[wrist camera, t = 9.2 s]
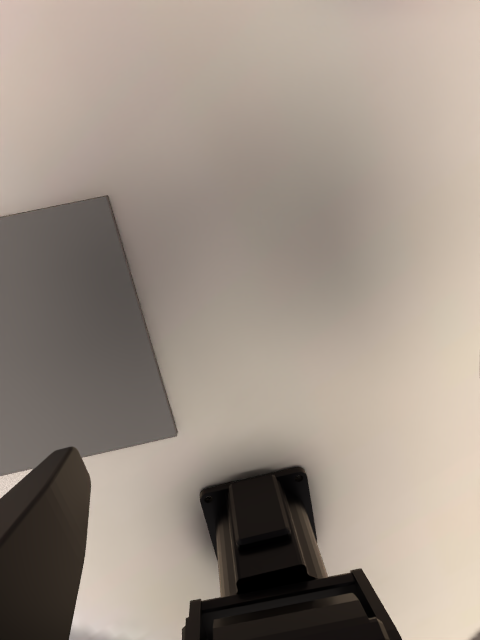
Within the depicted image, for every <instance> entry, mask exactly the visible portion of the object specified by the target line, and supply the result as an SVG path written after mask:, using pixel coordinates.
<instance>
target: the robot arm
mask: <svg viewBox="0 0 480 640" xmlns="http://www.w3.org/2000/svg"><path fill="white" fill-rule="evenodd" d="M298 475H300V476H299V477H296V476H298ZM90 492H91V480H90V476H89V473H88V471H87V469H86V467H85V465H84V462H83V460H82V458H81V456H80V453H79V451H78V450H77V449H76V448H75V447H73V446H71V447H66V448H62V449H58V450H55V451H54V452H52V453H51V454H50V455H49V456H48V457H47V458H46V459H44V460H43V461H42V462H41V463H40V464H39V465H38V466H37V467H36V468H34V469H33V470H32V471H31V472H30V473H29V474H28V475H27V476H25V477H24V478H23V479H22V480H21V481H20V482H19V483H18V484H16V485H15V486H14V487H13V488H12V489H11V490H10V491H9V492H7V493H6V494H5V495H4V496H3V497H2V498H1V499H0V640H69V635H70V630H71V625H72V620H73V615H74V610H75V605H76V600H77V594H78V589H79V584H80V579H81V574H82V569H83V563H84V557H85V550H86V540H87V528H88V516H89V504H90ZM207 496H211V497H210V498H206V497H207ZM200 502H201V506H202V509H203V512H204V516H205V519H206V523H207V526H208V530H209V533H210V536H211V540H212V543H213V547H214V550H215V554H216V557H217V560H218V567H219V580H220V593H221V597H220V598H214V599H209V600H204V601H201V599H198V600H193V601H190V610H189V617H188V618H186V625H185V627H184V628H183V629H182V640H402V638H401V636H400V634H399V632H398V631H397V629H396V627H395V625H394V623H393V622H392V620H391V618H390V617H389V615H388V613H387V612H386V610H385V608H384V606H383V605H382V603H381V601H380V600H379V598H378V596H377V594H376V593H375V591H374V589H373V588H372V586H371V584H370V582H369V581H368V579H367V577H366V576H365V574H364V572H363V570H362V569H355V570H351V571H350V573H345V574H340V575H335V576H330V577H328V576H327V573H326V569H325V566H324V563H323V560H322V557H321V554H320V551H319V548H318V545H317V537H316V531H315V524H314V518H313V511H312V505H311V499H310V492H309V486H308V479H307V475H306V472H305V470H304V469H303V468H300V467H296V468H292V469H287V470H283V471H279V472H274V473H270V474H266V475H261V476H257V477H253V478H249V479H244V480H240V481H236V482H231V483H227V484H223V485H218V486H214V487H210V488H206V489H203V490H202V491H201V493H200Z"/></svg>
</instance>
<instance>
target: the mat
mask: <svg viewBox="0 0 480 640" xmlns="http://www.w3.org/2000/svg"><path fill="white" fill-rule="evenodd" d="M175 436H177V429H176V426H175V422H174V419H173V415H172V412H171V409H170V405H169V402H168V398H167V395H166V392H165V388H164V385H163V382H162V378H161V375H160V371H159V368H158V365H157V361H156V358H155V354H154V351H153V348H152V344H151V341H150V337H149V334H148V331H147V327H146V324H145V321H144V317H143V314H142V310H141V307H140V304H139V300H138V297H137V293H136V290H135V287H134V283H133V280H132V276H131V273H130V270H129V266H128V263H127V260H126V256H125V253H124V249H123V246H122V243H121V239H120V236H119V232H118V229H117V226H116V222H115V219H114V215H113V212H112V209H111V205H110V202H109V199H108V196H103V197H98V198H93V199H88V200H83V201H78V202H73V203H68V204H63V205H58V206H53V207H48V208H43V209H38V210H33V211H28V212H23V213H18V214H14V215H9V216H4V217H0V476H3V475H7V474H12V473H16V472H20V471H25V470H29V469H34V468H36V467H37V466H38V465H39V464H40V463H41V462H42V461H43V460H44V459H46V458H47V457H48V456H49V455H50V454H51V453H52V452H54V451H55V450H58V449H62V448H66V447H71V446H73V447H75V448H76V449H77V450H78V451H79V453H80V456H81V458H82V457H87V456H91V455H96V454H100V453H104V452H109V451H113V450H118V449H122V448H127V447H131V446H135V445H140V444H144V443H149V442H153V441H158V440H162V439H166V438H171V437H175Z"/></svg>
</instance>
